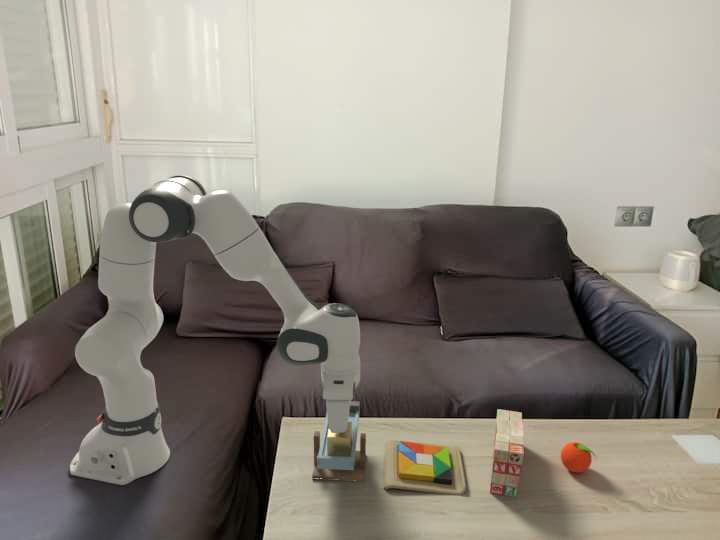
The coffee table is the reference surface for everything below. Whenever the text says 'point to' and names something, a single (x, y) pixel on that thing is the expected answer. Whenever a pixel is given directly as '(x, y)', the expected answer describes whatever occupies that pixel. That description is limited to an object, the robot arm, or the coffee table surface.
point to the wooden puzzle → (423, 467)
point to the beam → (348, 462)
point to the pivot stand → (341, 474)
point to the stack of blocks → (507, 454)
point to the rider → (340, 442)
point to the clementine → (576, 457)
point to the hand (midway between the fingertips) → (341, 426)
